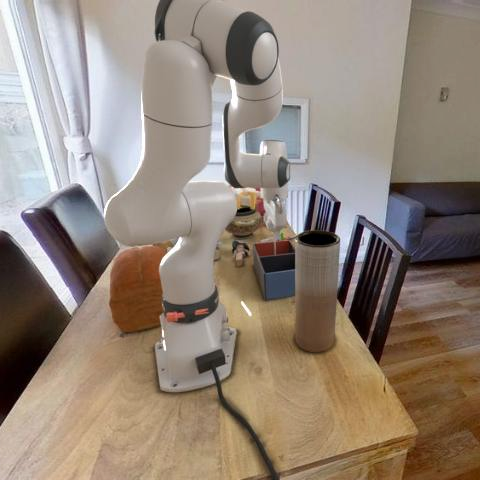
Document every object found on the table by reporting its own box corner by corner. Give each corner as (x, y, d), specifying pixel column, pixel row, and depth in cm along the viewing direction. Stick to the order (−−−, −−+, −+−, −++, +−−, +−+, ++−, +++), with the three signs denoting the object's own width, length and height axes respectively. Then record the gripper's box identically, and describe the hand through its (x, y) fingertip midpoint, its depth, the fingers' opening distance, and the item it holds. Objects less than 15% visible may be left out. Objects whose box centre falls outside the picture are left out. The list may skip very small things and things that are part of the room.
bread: (174, 276, 105) (167, 233, 99) (184, 320, 84) (176, 268, 78) (119, 287, 98) (107, 241, 92) (114, 338, 76) (99, 282, 70)
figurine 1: (217, 236, 141) (216, 224, 138) (171, 257, 120) (169, 243, 118) (196, 230, 146) (194, 218, 143) (148, 249, 125) (146, 236, 123)
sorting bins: (308, 293, 98) (309, 268, 95) (264, 300, 94) (263, 274, 90) (290, 261, 119) (290, 239, 116) (253, 265, 115) (252, 243, 111)
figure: (214, 200, 139) (213, 180, 136) (251, 197, 149) (251, 178, 146) (227, 212, 126) (227, 190, 123) (267, 208, 136) (268, 187, 133)
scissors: (304, 233, 147) (304, 230, 146) (280, 249, 129) (280, 245, 129) (290, 231, 150) (290, 228, 149) (265, 246, 132) (265, 242, 132)
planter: (325, 323, 84) (329, 228, 74) (340, 347, 76) (348, 243, 65) (290, 331, 81) (289, 232, 70) (302, 357, 72) (303, 248, 62)
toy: (264, 238, 169) (288, 226, 172) (256, 219, 141) (285, 205, 143) (241, 197, 176) (265, 185, 178) (229, 170, 147) (257, 157, 150)
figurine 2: (226, 240, 127) (221, 252, 127) (218, 238, 132) (213, 249, 131) (209, 234, 122) (203, 246, 121) (201, 231, 126) (196, 243, 126)
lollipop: (280, 260, 106) (279, 218, 100) (264, 258, 107) (262, 217, 101) (285, 253, 111) (285, 213, 106) (270, 251, 112) (269, 211, 107)
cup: (256, 237, 121) (294, 230, 123) (258, 236, 129) (293, 230, 131) (260, 257, 122) (297, 249, 124) (262, 254, 130) (297, 248, 131)
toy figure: (254, 265, 116) (248, 247, 128) (251, 250, 113) (245, 234, 126) (234, 269, 114) (231, 251, 127) (231, 254, 111) (228, 238, 124)
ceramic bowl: (224, 233, 151) (213, 205, 144) (258, 221, 156) (249, 193, 149) (232, 253, 130) (220, 221, 123) (272, 238, 135) (262, 207, 128)
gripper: (291, 199, 92) (291, 241, 98) (277, 184, 110) (278, 221, 115) (270, 200, 90) (271, 243, 96) (259, 185, 108) (261, 222, 114)
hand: (275, 231), depth 106 cm, fingers closed on lollipop, 5 cm apart
